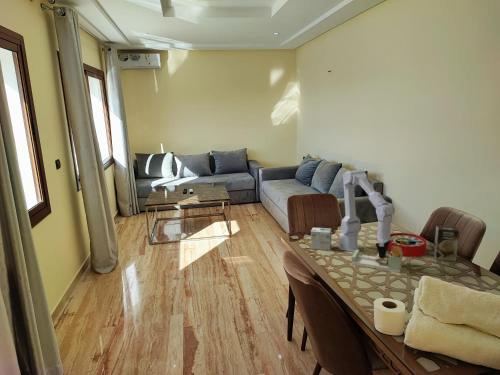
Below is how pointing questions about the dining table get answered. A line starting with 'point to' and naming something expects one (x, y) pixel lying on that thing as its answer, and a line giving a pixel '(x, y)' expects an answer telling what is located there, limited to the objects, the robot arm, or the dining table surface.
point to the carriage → (382, 258)
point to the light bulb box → (321, 238)
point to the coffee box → (446, 243)
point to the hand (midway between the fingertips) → (383, 255)
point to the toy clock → (408, 244)
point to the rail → (369, 261)
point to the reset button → (396, 251)
